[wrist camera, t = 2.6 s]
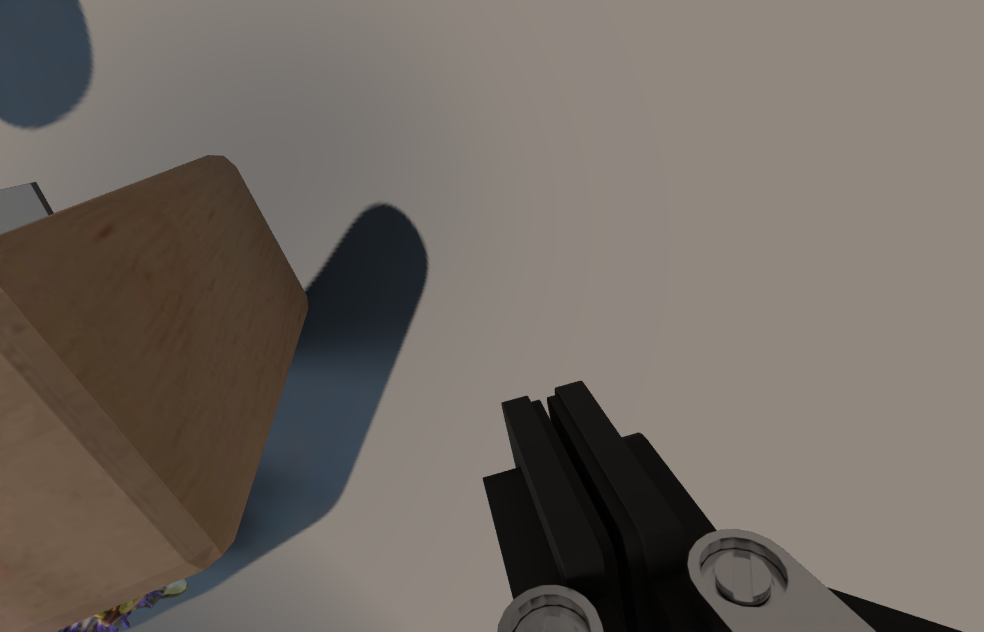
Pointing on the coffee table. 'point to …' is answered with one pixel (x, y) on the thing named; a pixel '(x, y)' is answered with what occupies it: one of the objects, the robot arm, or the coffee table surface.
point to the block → (135, 388)
